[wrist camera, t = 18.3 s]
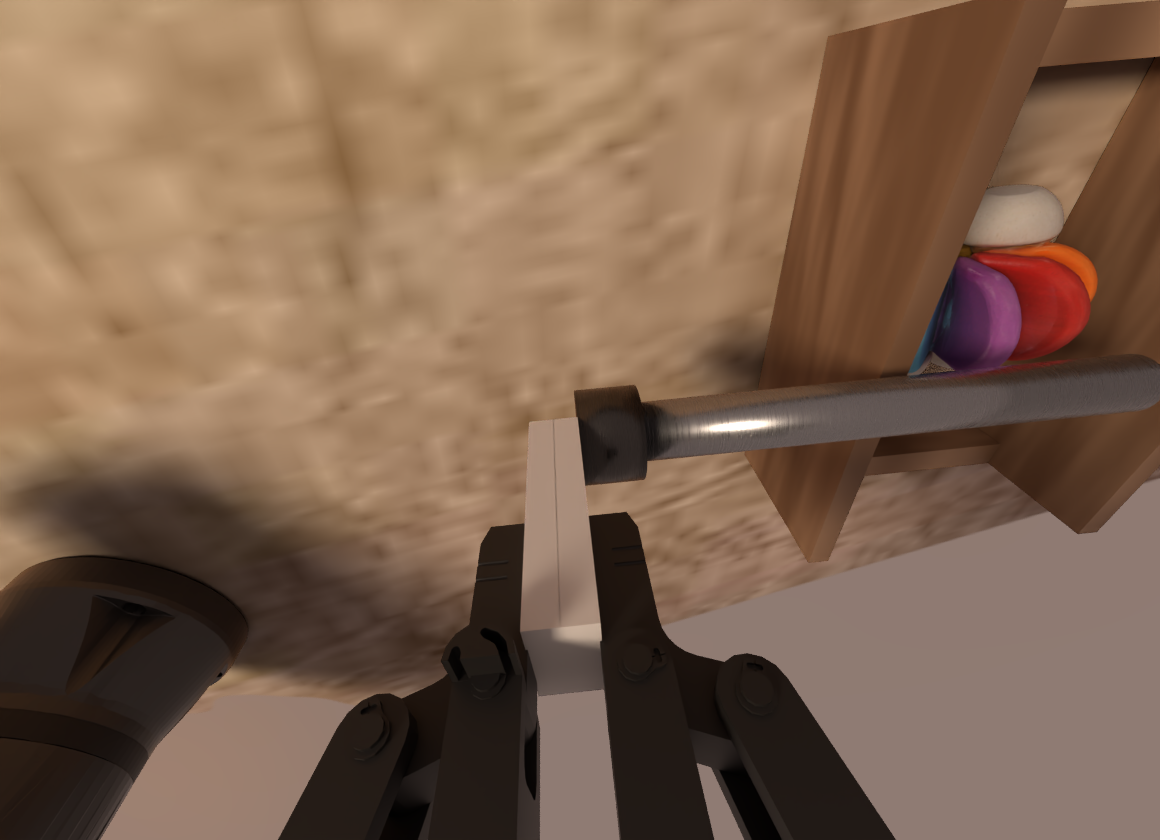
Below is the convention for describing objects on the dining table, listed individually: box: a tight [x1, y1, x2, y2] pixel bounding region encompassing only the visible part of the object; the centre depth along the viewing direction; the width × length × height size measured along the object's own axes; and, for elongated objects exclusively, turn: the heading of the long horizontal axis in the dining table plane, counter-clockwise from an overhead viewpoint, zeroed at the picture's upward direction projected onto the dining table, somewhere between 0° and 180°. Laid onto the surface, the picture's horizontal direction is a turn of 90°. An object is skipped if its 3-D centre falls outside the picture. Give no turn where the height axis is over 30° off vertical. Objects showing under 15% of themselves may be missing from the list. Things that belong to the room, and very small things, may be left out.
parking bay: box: [745, 0, 1160, 563], centre depth 19 cm, size 15×21×8 cm
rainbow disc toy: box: [907, 185, 1098, 376], centre depth 20 cm, size 8×10×7 cm
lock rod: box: [574, 354, 1160, 486], centre depth 15 cm, size 19×3×3 cm, turn 94°
